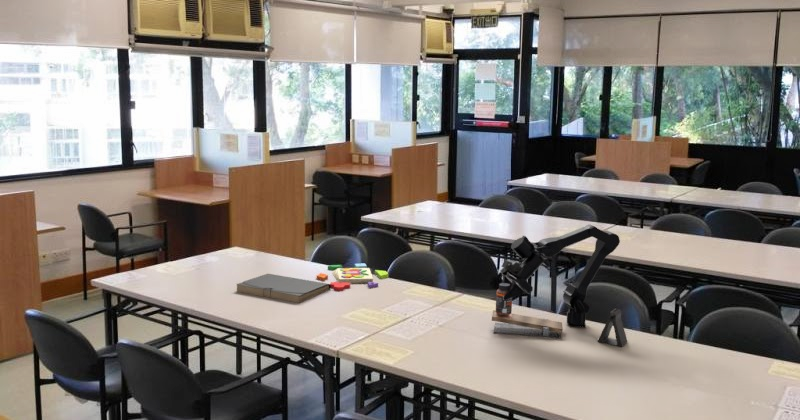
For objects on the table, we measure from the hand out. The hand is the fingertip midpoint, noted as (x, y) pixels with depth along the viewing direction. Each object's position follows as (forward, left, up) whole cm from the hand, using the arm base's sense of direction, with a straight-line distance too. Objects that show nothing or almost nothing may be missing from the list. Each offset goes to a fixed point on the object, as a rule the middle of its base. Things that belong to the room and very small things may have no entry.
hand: (500, 296), depth 274 cm
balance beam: (-10, 0, -10) cm, 14 cm away
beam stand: (-10, 0, -13) cm, 16 cm away
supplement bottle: (-1, -1, -7) cm, 7 cm away
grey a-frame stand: (-41, +5, -13) cm, 43 cm away
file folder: (+95, -29, -13) cm, 100 cm away
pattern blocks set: (+71, -57, -13) cm, 92 cm away
